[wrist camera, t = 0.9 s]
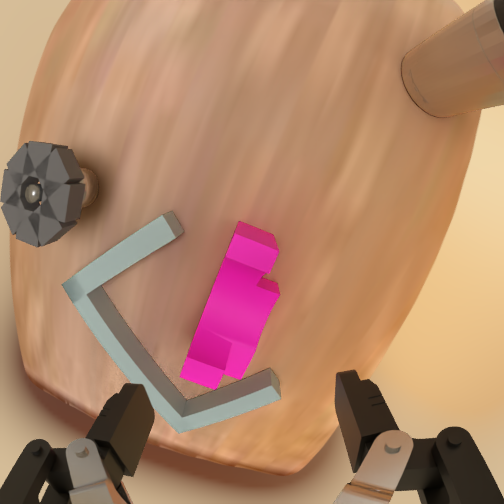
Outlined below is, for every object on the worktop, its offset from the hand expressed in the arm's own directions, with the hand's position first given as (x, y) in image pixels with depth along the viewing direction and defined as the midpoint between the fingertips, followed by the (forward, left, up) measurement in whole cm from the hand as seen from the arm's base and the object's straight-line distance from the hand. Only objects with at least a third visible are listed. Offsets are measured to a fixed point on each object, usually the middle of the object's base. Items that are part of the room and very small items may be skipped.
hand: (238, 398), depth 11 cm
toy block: (+3, +3, -21) cm, 22 cm away
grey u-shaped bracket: (+12, +4, -21) cm, 24 cm away
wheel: (+12, -16, -14) cm, 25 cm away
